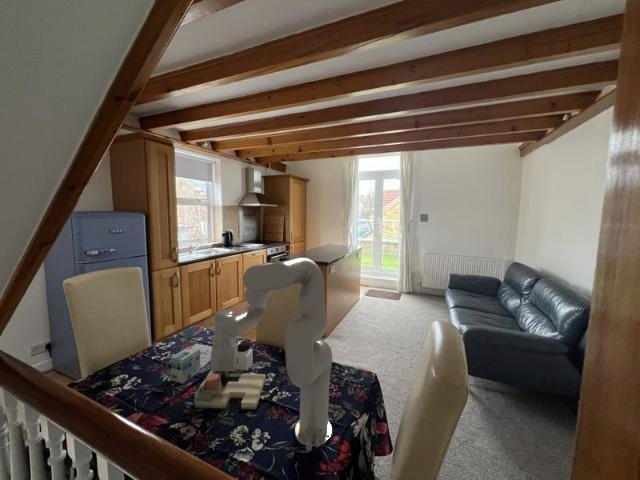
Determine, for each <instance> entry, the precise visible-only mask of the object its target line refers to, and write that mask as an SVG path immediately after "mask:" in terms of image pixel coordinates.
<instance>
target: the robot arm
mask: <svg viewBox="0 0 640 480" xmlns="http://www.w3.org/2000/svg"><path fill="white" fill-rule="evenodd" d="M242 281H243V285H244V288H246V290H245V291H244V294H243V296H244V297H243V298H244V299H245V301H246V302H247V303H248V305H249V306H248V307H247V308H246V309H245V310H243V311H241V312H238V313H236V314H235V312H234V311H233V310H231V309H221V310H217V312H215V314H214V317H213V318H214V321H213V322H214V337H211V339H210V340H211V342H213V345H212V346H211V347H212V351H211V360H210V362H209V366H210V367H209V369H210V371H211V370H212V371H215V372H217V373H218V374H219V376H220V377H221V383H222V386H226V385H227V383H228V382H230V375H231V374H232V373H235V372H238V371H239V370H238V351H237V345H236V344H237V342H235V337H239V335H242V334H244V333H245V332H247V331H249V330H251V329H252V328H254V327H256V326H257V325H258V323H259V322H260V321H261V320H262V318H263V317H264V315H265V313H266V308H267V303H266V302H267V300H269V298H270V296H271V295H272V293H273V291H281V290H287V289H289V288H292V287H294V286H297V285H299V284H300V288H299V289H300V290H299V293H298V307H299V309H298V310H299V311H298V312H299V313H298V315H297V317H295V318H293V319H292V320H290V322H288V324H287V326H286V327H285V330H284V336H283V337H284V338H283V339H284V354H285V364H286V365H285V368H286V372H287V375H288V378H289V380H290V381H291V382H290V383H292V384H293V385H294V386H295V387H298V388H300V394H299V402H300V403H299V420H298V421H297V422H296V424H295V427H294V435H295V439H296V441H298V443H299V442H300V443H299V444H300V445H302V444H303V445H302V446H304V445H306V446H305V450H306V451H307V452H310V451H312V450H313V448H312V446H316V447H317V448H320V447H319V445H321V444H323V443H324V442H326V441H327V440H328V439H329V438H330V437H331V438H332V436H331V435H333V428H332V424H331V422H329V397H330V394H329V392H330V379H331V378H330V377H331V371H332V370H331V369H332V365H333V352H332V349H331V346H330V344H328V343H327V341H325V340H322V339H321V338H322V337H323V336H324V335H325V334H326V331H327V314H326V312H327V311H326V300H325V283H324V282H325V280H324V274H323V272H322V270H321V268H320V266H319V265H318V264H317V263H316V262H315V260H312V259H310V258H308V257H295V258H290V259H287V260H282V261H278V262H263V263H260V264H259V263H258V264H255V265H251V266H249V267H248V268H247V269H246V270H245V272H244V274H243V277H242ZM225 371H226V373H225ZM327 436H329V437H327ZM312 443H314V444H312Z"/></svg>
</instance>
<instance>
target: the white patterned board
mask: <svg viewBox="0 0 640 480" xmlns="http://www.w3.org/2000/svg"><path fill="white" fill-rule="evenodd" d="M191 347H194V348H198V349H200V370H202V369H203V368H204V367H206V365H207V364H210V360H211V351H212V346H210V345H204V344H200V343H194V345H192V346H191ZM168 364H171V359H170V360H169V361H168Z"/></svg>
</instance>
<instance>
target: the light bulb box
mask: <svg viewBox="0 0 640 480" xmlns="http://www.w3.org/2000/svg"><path fill="white" fill-rule="evenodd" d="M170 360H171V363H170V374H171V375H170V376H171V377H170V381H173V382H176V383H178V384H179V383H180V384H184V383H185V382H187V381H188V380H190V379H191V378H193V377H194V376H196V375H197V374H198V373H200V372H201V369H200V349H198V348H194V347H192V346H188V347H186V348H184V349H182V350H181V351H178V352H177V353H175V354H174V355H173V356H170Z"/></svg>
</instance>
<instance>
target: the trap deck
mask: <svg viewBox="0 0 640 480" xmlns="http://www.w3.org/2000/svg"><path fill="white" fill-rule="evenodd" d="M225 373H226V371H225ZM210 374H218V373H217V372H215V371H212V370H211V369H210V371H209V372H208V374H207V376H206V377H205V378H204V380H203V381H202V383H201V384H200V385H199V387H198V388H197V390H196V391H195V392H194V408H197V409H198V408H199V409H200V408H201V409H202V408H203V409H204V408H205V409H226V408H227V406H228V404H229V401H230V400H231V399H242V400H241V402H240V403H241V404H240V405H241V406H240V407H241V410H256V409H257V407H258V404H259V400H260V398H261V395H262V393H263V392H262V391H263V389H264V385H265V383H266V379H267V378H266V377H267V376H266V374H265V373H264V374H263V373H241V375H240V377H239V379H238V381H229V382H228V383H227V385H226V386H222V383H221V385H220V386H219V388H218V390H206V380H207V378H208V377H209V375H210Z"/></svg>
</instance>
